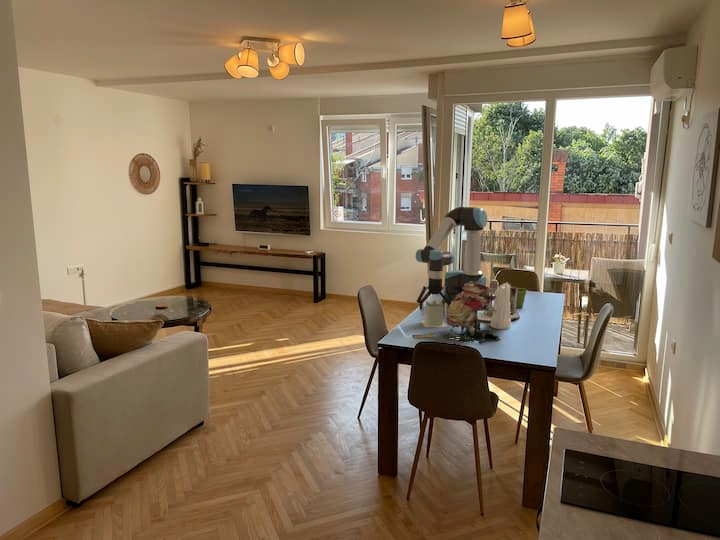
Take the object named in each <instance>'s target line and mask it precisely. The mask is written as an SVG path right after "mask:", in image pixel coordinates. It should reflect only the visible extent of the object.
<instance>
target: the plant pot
mask: <svg viewBox="0 0 720 540" xmlns="http://www.w3.org/2000/svg"><path fill="white" fill-rule="evenodd" d="M527 292H528V289H526V288H518V291H517V304H516V309H518V308H523V306H524V302H525V297H526V295H527Z"/></svg>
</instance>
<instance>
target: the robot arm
mask: <svg viewBox="0 0 720 540" xmlns="http://www.w3.org/2000/svg"><path fill="white" fill-rule="evenodd" d="M487 224H488V215H487V212H486V210H485V209H484V208H482V207H476V206H472V207H471V206H458V207H455V208H453V209H452V210H450V211H449V212H447V213H446V214H445V215H444V216H443V218H442V220H441V223H440V225H439V226H438V228H437V230H436V231H435V232H434V234H433V235H432V237H431V238H430V239H429V241H428V242H427V244H426V245H425V246H424V248H421V249H420V248H419V249H417V250H416V252H415V259H416V262H418V263H423V264H429V265H428V266H429V268H428V286H425V285H423V286H422V290H421V291H420V293H419V295H418V297H417V300H416V302H417V304H419V309H420V314H421V316H424V314H425V313H424V309H425V308H424V307H425V304H424V303H425V302H426V300H427V299H428V298H429V297H430V296H431V295H439V296H440V297H442V299H441V301H440V302H441V303H442V304H444V306H443V308H444V310H443V315H445V316H448V307H449V305H450V304H451V302H450V301H453V299H455V298H456V295H457V294H460V293H463V292H464V291H463V289H462V288H463V287H465V286H464V285H465V284H466V283H469V282H470V281H473V282H476V281H477V283H479V284H481V285H484V286H486V285H487V282H488V281H487V277H486V276H484V271H482V270H481V261H482V260H481V259H482V258H481V257H482V255H481V253H482V252H481V251H482V247H481V244H482V243H481V240H482V237H481V234H482V232H483V231H484V228H485V227H486V226H487ZM459 226H460V227H461V226H462V227H463V231H465V233H466V250H465V251H466V253H465V254H466V257H465V258H466V262H465V263H466V264H465V266H466V268H465V271H464V270H459V269H458V270H457V269H456V270H449V271H448V270H447V271H446V272H445V274H444V284H443V271H444V267H445V266H450V265H451V264H453V263H454V262H455V259H456V258H455V254H454V253H453V252H451V251H443V250H441V249H440V248H441V247H442V245H443V244H444V243H445V241H446V239H447V238H448V237H449V235H450V234H451V232H452V231H453V230H455V229H456V228H457V227H459ZM443 285H444V286H443ZM486 287H487V286H486ZM427 290H428V291H427ZM426 291H427V292H426ZM442 291H444V293H443V292H442ZM425 292H426V293H425Z"/></svg>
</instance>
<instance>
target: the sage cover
mask: <svg viewBox="0 0 720 540" xmlns="http://www.w3.org/2000/svg"><path fill="white" fill-rule="evenodd" d="M443 306H444V304H442V303H441V301H440V300H431V301H429V300H427V301H426V300H425V317H424V319H425V320H424V321H425V322H426V323H427V324H428V325H429V326H436V325H443V322H444V307H443Z"/></svg>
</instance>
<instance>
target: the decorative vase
mask: <svg viewBox="0 0 720 540" xmlns="http://www.w3.org/2000/svg"><path fill="white" fill-rule="evenodd" d="M510 286H511V284H510V283H508V282H504V283H502V284H500V285H499V287H497V288H496V290H494V291H495V292H494V296H496V298H495V300H493V305H492V309H494V310H496V311H492V316H491V318H490V327H491V328H493V329H498V330H509V329H510V328H511V324H512V319H511V313H510Z"/></svg>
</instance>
